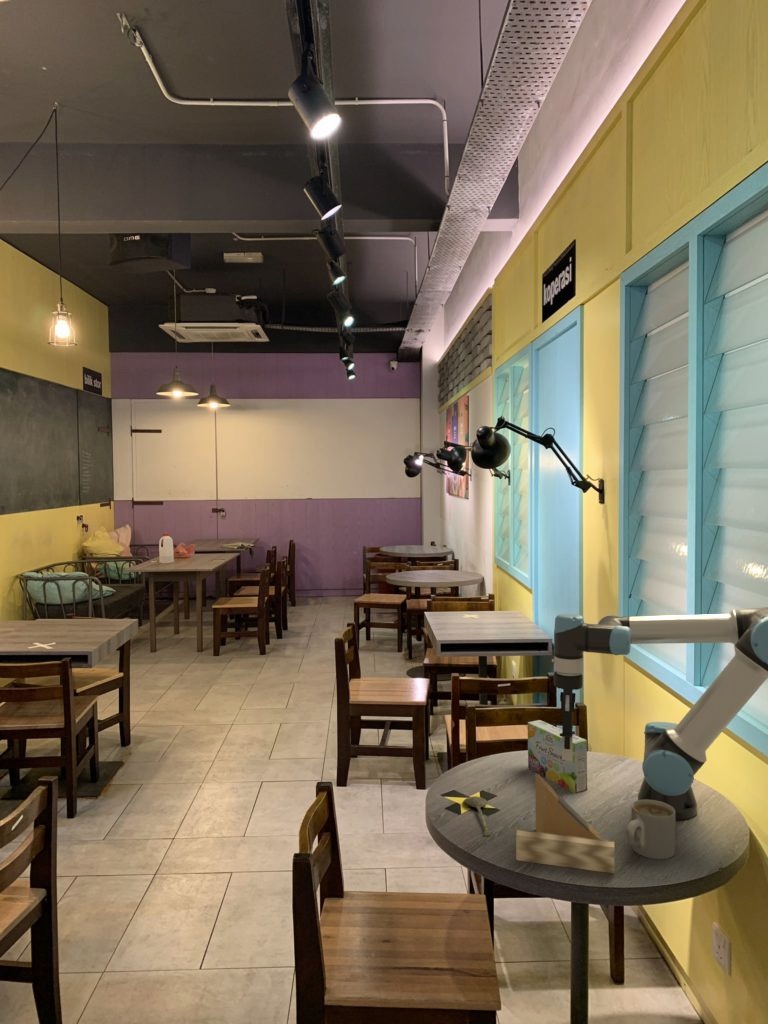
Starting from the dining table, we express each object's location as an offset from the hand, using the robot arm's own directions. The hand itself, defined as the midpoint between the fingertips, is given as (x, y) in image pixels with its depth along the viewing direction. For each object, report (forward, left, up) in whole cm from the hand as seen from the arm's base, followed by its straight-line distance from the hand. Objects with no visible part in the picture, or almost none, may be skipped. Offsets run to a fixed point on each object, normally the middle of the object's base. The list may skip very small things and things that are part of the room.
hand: (567, 759), depth 193 cm
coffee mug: (-19, +15, -15) cm, 29 cm away
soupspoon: (+22, +8, -16) cm, 28 cm away
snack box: (+4, -23, -15) cm, 28 cm away
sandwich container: (-1, +13, -15) cm, 20 cm away
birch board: (0, +27, -15) cm, 31 cm away
